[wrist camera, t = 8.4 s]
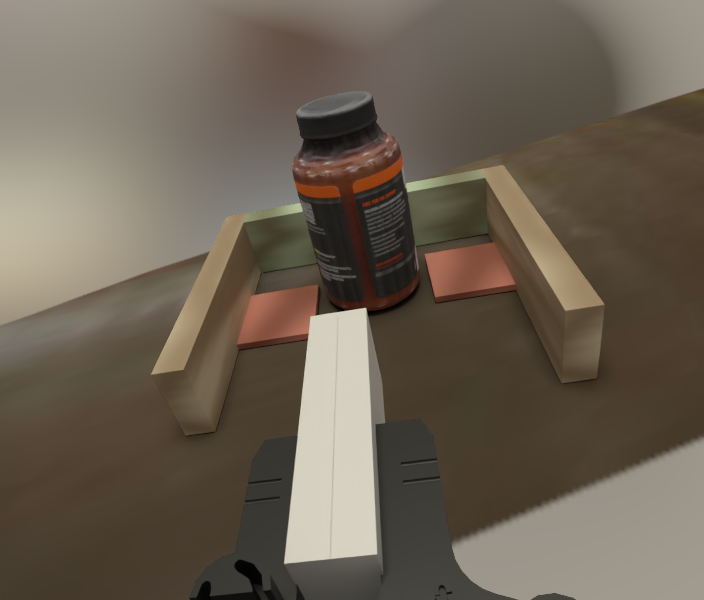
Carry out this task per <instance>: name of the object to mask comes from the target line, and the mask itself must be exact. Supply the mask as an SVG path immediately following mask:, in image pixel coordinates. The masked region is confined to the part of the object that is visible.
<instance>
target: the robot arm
mask: <svg viewBox="0 0 704 600" xmlns="http://www.w3.org/2000/svg"><path fill="white" fill-rule="evenodd" d="M248 483H249V486H248V487H247V492H246V497H245V505H244V508H243V513H242V518H241V523H240V529H239V534H238V539H237V544H236V550H235V553H233V554H230V555H226V556H223V557H221V558H220V559H218V560H217V561H215V562H214V563H213V564H211V565H210V566H208V567H207V568H206V570H205V571H204V572H203V573H202V575H201V576H200V577H199V578H198V580H197V581H196V583H195V585H194V588H193V590H192V593H191V595H190V597H189V599H190V600H517V599H513V598H510V597H506V596H502V595H498V594H495V593H492V592H490V591H487V590H484V589H482V588H481V587H479V586H478V585H476V584H475V583H473V582H472V581H471V580H470V579H469V578H468V577H467V576H466V575H465V574H464V573H463V572H462V570H461V569H460V567H459V565H458V563H457V562H456V560H455V557H454V553H453V550H452V545H451V539H450V533H449V527H448V522H447V516H446V510H445V504H444V498H443V492H442V486H441V481H440V475H439V469H438V463H437V457H436V451H435V445H434V439H433V436H432V434H431V433H430V431H429V430H428V429H427V427H426V426H425V424H424V423H423V422H422V420H421V419H413V420H405V421H398V422H390V423H385V417H384V403H383V390H382V380H381V375H380V371H379V366H378V361H377V356H376V352H375V347H374V342H373V338H372V333H371V328H370V324H369V319H368V314H367V310H366V308H362V309H355V310H349V311H342V312H336V313H329V314H323V315H316V316H311V318H310V327H309V336H308V346H307V355H306V364H305V374H304V383H303V392H302V401H301V411H300V420H299V429H298V436H292V437H285V438H277V439H269V440H265V441H264V442H263V444H262V446H261V447H260V449H259V451H258V452H257V454H256V455H255V457H254V459H253V460H252V466H251V471H250V476H249V481H248ZM532 600H575V599H574V598H571V597H567V596H564V595H560V594H556V593H552V594H545V595H538V596H536V597H535V598H533V599H532Z"/></svg>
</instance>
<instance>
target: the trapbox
mask: <svg viewBox="0 0 704 600" xmlns="http://www.w3.org/2000/svg"><path fill="white" fill-rule="evenodd" d="M406 188H407V193H408V200H409V207H410V213H411V220H412V226H413V232H414V238H415V246H419V245H425V244H430V243H436V242H442V241H448V240H454V239H459V238H465V237H471V236H477V235H482V234H488V235H489V237H490V239H491V241H492V243H487V244H481V245H475V246H470V247H464V248H458V249H452V250H446V251H440V252H435V253H429V254H425V260H426V264H427V268H428V272H429V277H430V281H431V285H432V289H433V293H434V297H435V301H436V303H438V302H444V301H451V300H457V299H463V298H469V297H475V296H482V295H488V294H494V293H500V292H507V291H513V290H516V292H517V294H518V296H519V298H520V300H521V302H522V304H523V306H524V308H525V310H526V312H527V314H528V316H529V318H530V320H531V322H532V324H533V326H534V328H535V330H536V332H537V334H538V336H539V338H540V340H541V342H542V344H543V346H544V348H545V350H546V352H547V354H548V356H549V358H550V361H551V363H552V365H553V367H554V369H555V371H556V373H557V375H558V377H559V379H560V381H561V383H568V382H575V381H582V380H589V379H597V374H598V364H599V354H600V345H601V335H602V325H603V316H604V306H605V304H604V303H603V302H602V300H601V299H600V298H599V296H598V295H597V293H596V292H595V291H594V289H593V288H592V287H591V285H590V284H589V282H588V281H587V280H586V278H585V277H584V276H583V274H582V273H581V271H580V270H579V269H578V267H577V266H576V265H575V263H574V262H573V260H572V259H571V258H570V256H569V255H568V254H567V252H566V251H565V249H564V248H563V247H562V245H561V244H560V243H559V241H558V240H557V238H556V237H555V236H554V234H553V233H552V232H551V230H550V229H549V227H548V226H547V225H546V223H545V222H544V221H543V219H542V218H541V216H540V215H539V214H538V212H537V211H536V210H535V208H534V207H533V205H532V204H531V203H530V201H529V200H528V199H527V197H526V196H525V194H524V193H523V192H522V190H521V189H520V188H519V186H518V185H517V183H516V182H515V181H514V179H513V178H512V177H511V175H510V174H509V172H508V171H507V170H506V168H505V167H504V166H503V165H502V166H496V167H491V168H486V169H480V170H475V171H470V172H464V173H459V174H454V175H448V176H443V177H438V178H432V179H427V180H422V181H416V182H411V183H406ZM315 263H317V259H316V256H315V253H314V249H313V245H312V242H311V238H310V235H309V231H308V227H307V224H306V220H305V217H304V214H303V210H302V206H301V203H299V204H293V205H288V206H283V207H278V208H272V209H267V210H261V211H256V212H251V213H246V214H240V215H235V216H229V217H227V218H226V220H225V222H224V223H223V226H222V228H221V230H220V232H219V234H218V236H217V238H216V240H215V242H214V244H213V247H212V248H211V251H210V253H209V255H208V257H207V259H206V261H205V263H204V265H203V267H202V269H201V271H200V274H199V276H198V278H197V280H196V282H195V284H194V286H193V288H192V290H191V292H190V294H189V296H188V299H187V301H186V303H185V305H184V307H183V309H182V311H181V313H180V315H179V317H178V319H177V321H176V324H175V326H174V328H173V330H172V332H171V334H170V336H169V338H168V340H167V342H166V344H165V346H164V349H163V351H162V353H161V355H160V357H159V359H158V361H157V363H156V365H155V367H154V369H153V371H152V374H151V376H152V377H153V379H154V381H155V383H156V384H157V386H158V388H159V390H160V391H161V393H162V395H163V397H164V398H165V400H166V402H167V404H168V405H169V407H170V409H171V411H172V412H173V414H174V416H175V418H176V419H177V421H178V423H179V425H180V427H181V428H182V430H183V432H184V434H185V435H186V436H187V435H194V434H201V433H208V432H216V428H217V425H218V421H219V418H220V414H221V411H222V407H223V404H224V400H225V397H226V393H227V390H228V386H229V383H230V379H231V376H232V372H233V369H234V365H235V362H236V358H237V355H238V351H239V350H241V349H248V348H254V347H261V346H267V345H273V344H280V343H286V342H292V341H299V340H305V339H308V336H309V327H310V318H311V316H316V315H318V305H319V295H320V288H319V284H317V285H311V286H305V287H299V288H293V289H288V290H282V291H276V292H270V293H264V294H258V295H255V292H256V289H257V285H258V282H259V278H260V275H261V273H263V272H269V271H275V270H280V269H286V268H292V267H298V266H304V265H309V264H315Z"/></svg>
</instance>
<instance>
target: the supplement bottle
mask: <svg viewBox="0 0 704 600" xmlns="http://www.w3.org/2000/svg"><path fill="white" fill-rule="evenodd" d="M296 117H297V121H298V125H299V129H300V136H301V137H302V138H303V139H304V141H303V145H302V148H301V150H300V151H299V153H298V154H297V155H296V156H295V159H294V161H293V165H292V172H293V176H294V181H295V184H296V188H297V191H298V196H299V199H300V203H301V206H302V210H303V214H304V217H305V220H306V224H307V227H308V231H309V235H310V238H311V242H312V245H313V249H314V253H315V256H316V259H317V263H318V266H319V270H320V273H321V277H322V281H323V284H324V287H325V290H326V294H327V296H328V297H329V299H330V300H331V302H332V303H333V304H335V305H336V306H338V307H340V308H342V309H345V310H348V311H349V310H355V309H362V308H366V310H367V311H375V310H380V309H385V308H388V307H391V306H393V305H395V304H397V303H399V302H400V301H402V300H404V299H405V298H406V297H408V296H409V295H410V294H411V293H412V292H413V291H414V290H415V288H416V286H417V285H418V281H419V265H418V258H417V252H416V246H415V238H414V232H413V226H412V220H411V213H410V207H409V200H408V193H407V188H406V181H405V174H404V168H403V162H402V157H401V151H400V147H399V144H398V142H397V140H396V139H395V138H394V137H393V136H391V135H390V134H389V133H387V132H384V131H382V130H381V128H380V127H379V125H378V124H377V123H376V120H377V114H376V112H375V107H374V102H373V97H372V95H371V94H370V93H368V92H360V91H359V92H358V91H355V92H346V93H341V94H336V95H331V96H328V97H324V98H320V99H317V100H315V101H312V102H310V103H308V104H306V105H304V106H302V107H301V108H299V110H298V111H297V112H296Z"/></svg>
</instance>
